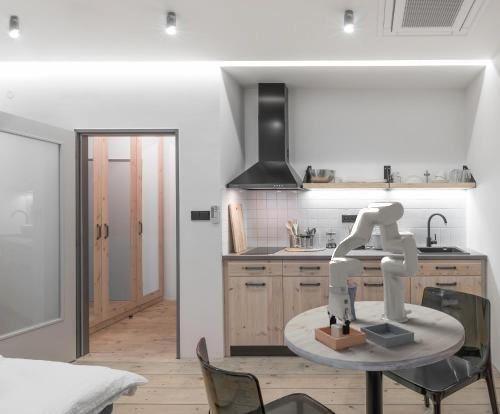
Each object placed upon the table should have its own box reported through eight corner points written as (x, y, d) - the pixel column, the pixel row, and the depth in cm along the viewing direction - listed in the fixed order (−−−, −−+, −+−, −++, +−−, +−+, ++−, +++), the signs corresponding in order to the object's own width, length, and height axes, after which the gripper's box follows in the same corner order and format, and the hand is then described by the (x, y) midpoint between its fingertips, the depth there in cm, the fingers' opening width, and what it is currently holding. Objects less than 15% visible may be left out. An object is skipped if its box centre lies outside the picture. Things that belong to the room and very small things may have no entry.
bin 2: (387, 332, 165) (387, 322, 165) (414, 343, 151) (414, 332, 151) (360, 337, 159) (360, 327, 159) (386, 349, 145) (385, 338, 145)
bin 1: (343, 333, 165) (342, 323, 165) (366, 344, 151) (365, 333, 151) (314, 338, 159) (314, 328, 159) (335, 351, 145) (335, 339, 145)
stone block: (341, 336, 158) (340, 323, 158) (348, 340, 154) (348, 326, 154) (331, 338, 156) (331, 324, 156) (338, 342, 152) (338, 328, 152)
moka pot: (348, 324, 177) (347, 282, 177) (329, 316, 191) (328, 277, 191) (364, 321, 181) (363, 280, 181) (344, 313, 195) (343, 275, 195)
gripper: (359, 292, 149) (360, 336, 149) (333, 284, 165) (334, 323, 165) (344, 295, 146) (345, 339, 146) (319, 286, 162) (320, 326, 162)
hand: (339, 330), depth 155 cm, fingers open, 8 cm apart
